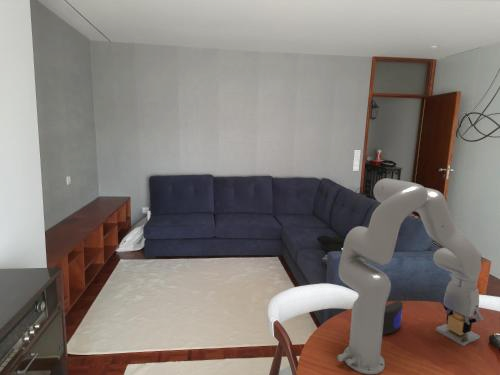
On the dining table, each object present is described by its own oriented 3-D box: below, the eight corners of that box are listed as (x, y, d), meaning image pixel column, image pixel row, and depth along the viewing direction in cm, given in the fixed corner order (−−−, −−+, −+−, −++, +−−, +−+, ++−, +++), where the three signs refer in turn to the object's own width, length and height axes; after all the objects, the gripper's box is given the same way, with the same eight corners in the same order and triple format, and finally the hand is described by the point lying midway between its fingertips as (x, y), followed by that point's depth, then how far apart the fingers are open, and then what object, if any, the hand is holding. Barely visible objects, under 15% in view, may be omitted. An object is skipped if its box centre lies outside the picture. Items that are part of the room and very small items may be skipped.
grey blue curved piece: (381, 340, 116) (384, 315, 114) (370, 333, 119) (372, 309, 118) (407, 326, 125) (410, 303, 123) (396, 320, 128) (398, 298, 127)
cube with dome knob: (460, 335, 117) (463, 318, 115) (446, 328, 121) (449, 311, 120) (468, 332, 119) (471, 314, 118) (455, 324, 123) (457, 308, 122)
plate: (462, 345, 113) (464, 334, 113) (435, 330, 122) (437, 319, 122) (479, 338, 118) (481, 327, 117) (451, 324, 127) (453, 313, 126)
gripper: (435, 274, 123) (429, 318, 126) (484, 294, 108) (476, 344, 110) (447, 271, 126) (441, 314, 129) (496, 290, 111) (489, 338, 114)
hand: (457, 327), depth 120 cm, fingers open, 5 cm apart
